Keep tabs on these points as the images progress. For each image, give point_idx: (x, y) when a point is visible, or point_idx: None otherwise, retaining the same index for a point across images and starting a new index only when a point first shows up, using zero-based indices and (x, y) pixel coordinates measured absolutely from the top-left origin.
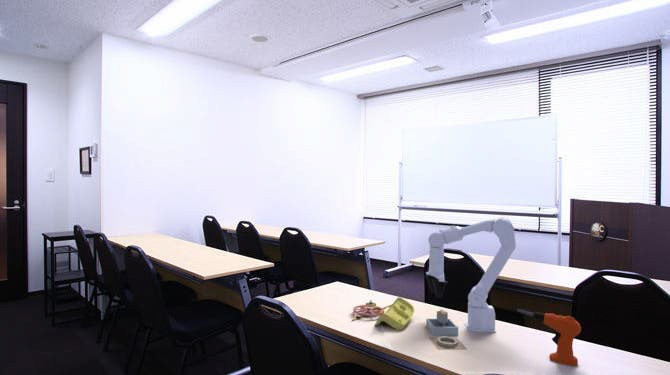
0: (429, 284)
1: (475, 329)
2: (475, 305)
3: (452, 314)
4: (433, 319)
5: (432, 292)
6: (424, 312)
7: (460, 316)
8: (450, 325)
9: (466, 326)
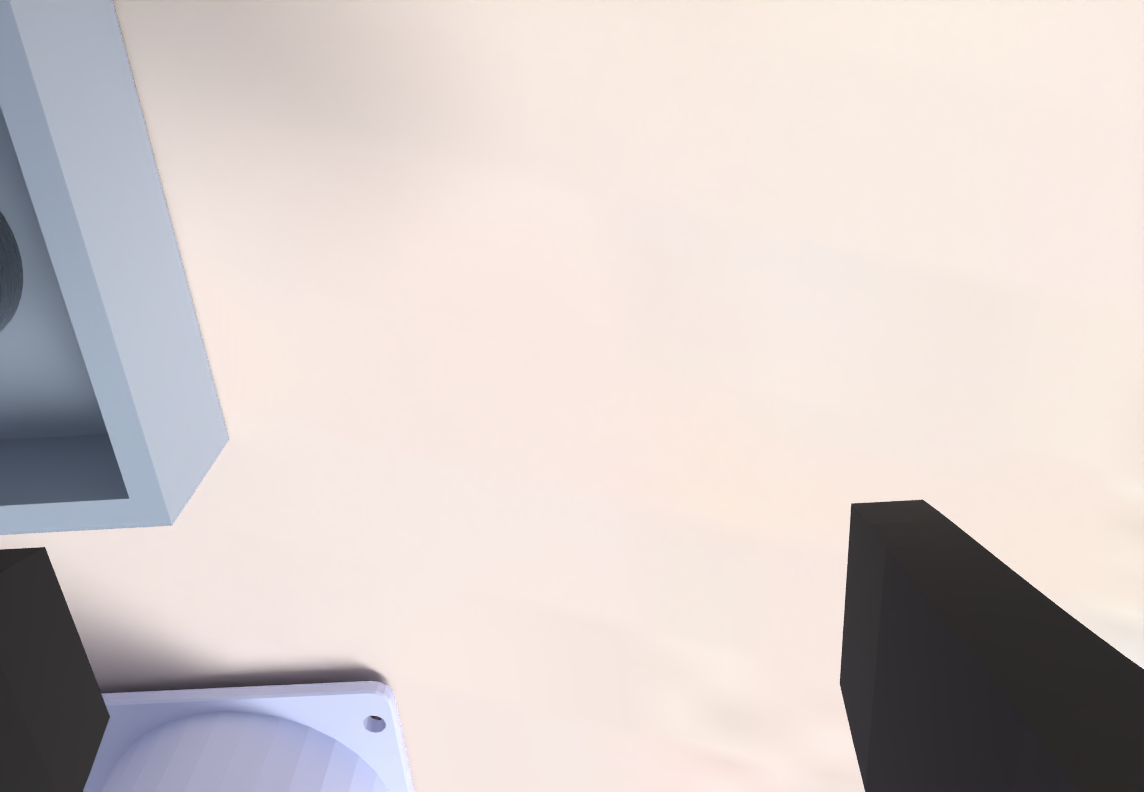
0: (1058, 779)
1: (110, 768)
2: None
3: None
4: (21, 154)
5: (847, 582)
6: (1122, 131)
7: (814, 734)
8: (54, 458)
9: (251, 692)
